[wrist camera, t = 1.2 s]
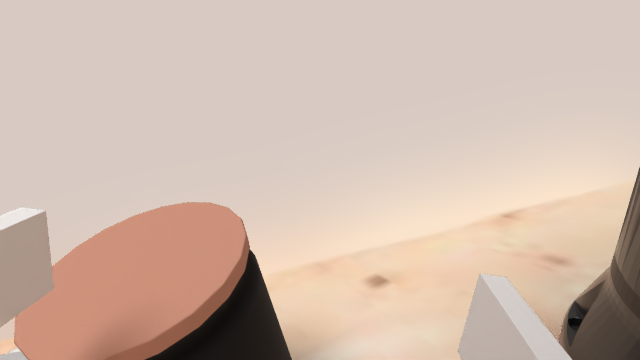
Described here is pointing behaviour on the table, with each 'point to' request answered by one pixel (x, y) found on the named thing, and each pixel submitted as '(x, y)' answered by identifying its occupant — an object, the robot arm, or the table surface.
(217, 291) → the coffee jar
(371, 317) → the table surface
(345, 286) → the table surface
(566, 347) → the robot arm
